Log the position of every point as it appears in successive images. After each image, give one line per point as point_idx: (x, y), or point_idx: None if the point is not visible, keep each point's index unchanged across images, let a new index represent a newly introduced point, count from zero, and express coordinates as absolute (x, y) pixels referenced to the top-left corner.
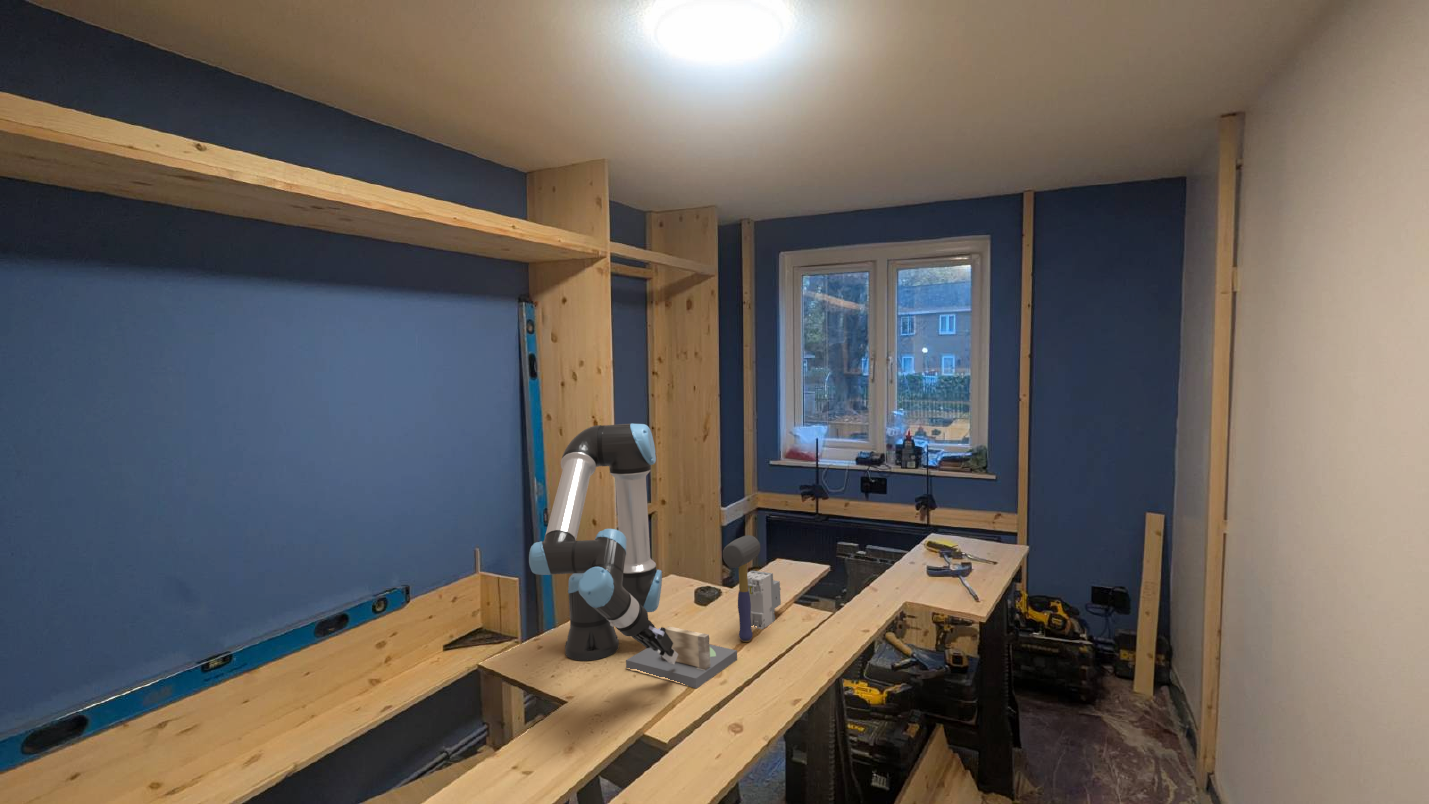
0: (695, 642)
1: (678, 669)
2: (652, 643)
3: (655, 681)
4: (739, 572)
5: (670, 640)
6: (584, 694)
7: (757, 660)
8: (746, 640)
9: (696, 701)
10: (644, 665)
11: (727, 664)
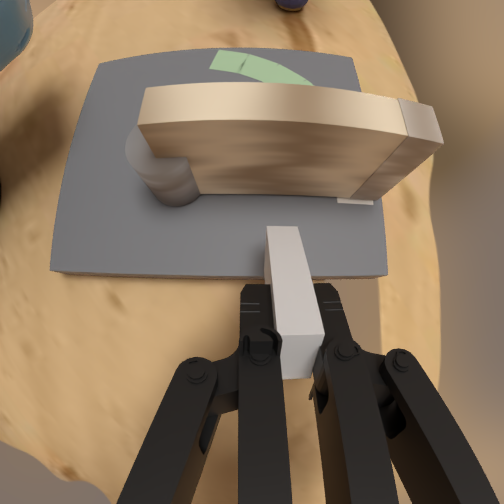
0: (375, 152)
1: None
2: (327, 499)
3: (209, 304)
4: None
5: (444, 411)
6: (84, 456)
7: (386, 69)
8: (299, 7)
9: (414, 344)
10: (128, 273)
11: None
